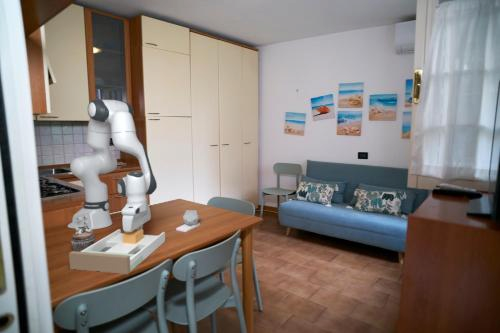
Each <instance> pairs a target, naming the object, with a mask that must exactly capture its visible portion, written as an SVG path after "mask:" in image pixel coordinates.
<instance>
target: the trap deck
mask: <svg viewBox="0 0 500 333" xmlns="http://www.w3.org/2000/svg"><path fill="white" fill-rule="evenodd" d="M124 233H125V232H124ZM124 233H122V231H121V228H120V229H119V228H118V229H117V230H115V231H113V232H112V233H110V234H108V235H107V236H104V237H103V238H101V239H100V240H98V241H96V242H94V244H93V245H91V246H89V247H88V248H86V249H84V250H82V251H81V252H77V251H74V250H72V251H70V252H69V253H68V257H69V269H70V270H73V269H76V270H75V271H85V270H86V271H87V272H96V271H100V272H101V273H108V272H109V273H110V274H122V275H129V273H131V272H132V271H133V270H134V269H136V268H137V267H138V266H139V265H140V264H141V263H142V262H143V261H145V260H146V259H147V258H148V257H149V256H150V255H151V254H152V253H154V252H155V251H156V250H157V249H158V248H159V247H160V246H162V245H163V244H164V243H165V242H166V232H165V231H162V232H161V233H160V234H158V235H155V234H154V235H152V234H143V239H142V240H140V241H139V242H138V243H136V244H131V243H123V234H124ZM86 271H85V272H86ZM100 272H99V273H100Z"/></svg>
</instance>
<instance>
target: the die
mask: <svg viewBox="0 0 500 333" xmlns="http://www.w3.org/2000/svg"><path fill="white" fill-rule="evenodd" d="M182 219H183V222H184V223H185V224H184V225H185V226H186V225H197V224H198V223H199V222H198V221H199V220H200V216H199V214H198V211H197V210H196V209H195V210H194V209H186V210H185V213H184V214H183V216H182Z"/></svg>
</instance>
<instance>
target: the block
mask: <svg viewBox="0 0 500 333" xmlns="http://www.w3.org/2000/svg"><path fill="white" fill-rule="evenodd" d="M143 235H144V229H142V230H139V231H137V230H133V231H132V232H124V234H123V243H131V244H136V243H138V242H139V241H140V240H142V239H143Z"/></svg>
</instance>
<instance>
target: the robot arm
mask: <svg viewBox="0 0 500 333" xmlns="http://www.w3.org/2000/svg"><path fill="white" fill-rule="evenodd" d="M134 113H135V112H134V108H133V105H132V104H131V103H130V102H127V101H120V100H117V99H100V98H95V99H92V100H90V101H89V103H88V105H87V114H88V116H89V119H88V126H87V130H86V131H87V133H86V139H85V140H86V141H85V142H86V145H87V147H89V148H91V149H92V153H93V154H90V155H82V156H78V157H76V158H73V159H72V160H71V161H70V164H69V166H70V168H69V169H70V172H71V173H72V175H73V176H74V177H77V179H79V180H80V181H81V183H82V185H83V188H84V197H85V200H84V201H82V202H81V204H80V205H81V206H82V205H83V206H82V208H80V209H79V210H78V211H77V212H76V213H74V214H73V216H72V221H71V222H70V223H69V224H68V225H67V228H70V229H75V230H76V228H78V227H83V226H89V227H90V229H91V230H92V231H93V230H98V229H99V230H100V229H104V228H108V227H110V226H112V225H113V221H112V217H111V215H110V200H109V197H108V196H109V194H108V193H109V192H108V185H107V184H106V183H105V182H103V181H101V179H100V177H99V175H105V174H109V173H111V172H114V171H115V170H116V169H117V167H118V160H117V158H116V156H114V155H113V154H112V152H111V147H110V143H111V139H112V143H113V146H114V147H115V148H116V149H118V150H119V151H120V152H123V153H126V154H130V155H132V156H133V157H135V158H136V159H137V160H138V163H139V166H140V169H141V171H135V170H133V171H130V172H128V173H126V176H125V177H121V178H119V179H118V181H117V183H116V190H117V193H118V194H119V196H121V197H123V198H125V197H127V199H126V204H125V206H124V207H123V208H122V210H121V215H122V218H121V219H122V220H121V222H122V230H123V231H124V233H126V232H132V231H133V230H137V231H139V230H143V227H144V224H145V223H147V222H148V221H150V220H151V218H152V217H151V216H152V214H151V208H150V205H149V203H148V198H147V196H149V195H152V194H153V193H154V192H155V191H156V190H157V183H158V182H157V180H156V178H155V175H154V172H153V169H152V166H151V163H150V158H149V156H148V151H147V149H146V146H145V145H144V144H143V143H141V142H140V141H139V140H140V139H138V136H137V129H136V125H135V121H134V118H133V117H134Z"/></svg>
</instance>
